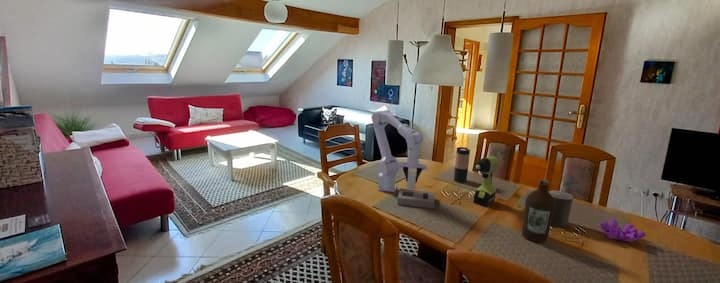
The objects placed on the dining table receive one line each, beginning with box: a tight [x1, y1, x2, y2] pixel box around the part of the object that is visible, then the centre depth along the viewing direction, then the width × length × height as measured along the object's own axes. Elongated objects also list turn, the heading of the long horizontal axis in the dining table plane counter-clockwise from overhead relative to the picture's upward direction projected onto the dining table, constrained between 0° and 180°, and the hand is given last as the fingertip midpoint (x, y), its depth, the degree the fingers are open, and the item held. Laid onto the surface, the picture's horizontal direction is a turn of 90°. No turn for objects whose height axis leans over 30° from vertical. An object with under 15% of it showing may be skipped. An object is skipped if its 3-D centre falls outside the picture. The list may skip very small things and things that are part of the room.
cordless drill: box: [472, 156, 501, 208], centre depth 158 cm, size 23×7×25 cm, turn 137°
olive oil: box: [521, 179, 555, 244], centre depth 130 cm, size 11×11×25 cm
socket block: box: [396, 188, 436, 209], centre depth 163 cm, size 18×12×4 cm, turn 77°
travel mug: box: [453, 146, 471, 184], centre depth 189 cm, size 8×8×20 cm
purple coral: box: [599, 219, 647, 242], centre depth 132 cm, size 11×15×10 cm
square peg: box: [406, 170, 417, 190], centre depth 163 cm, size 4×4×8 cm
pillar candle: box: [548, 190, 574, 229], centre depth 143 cm, size 10×10×15 cm
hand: (411, 181), depth 163 cm, fingers closed on square peg, 4 cm apart
